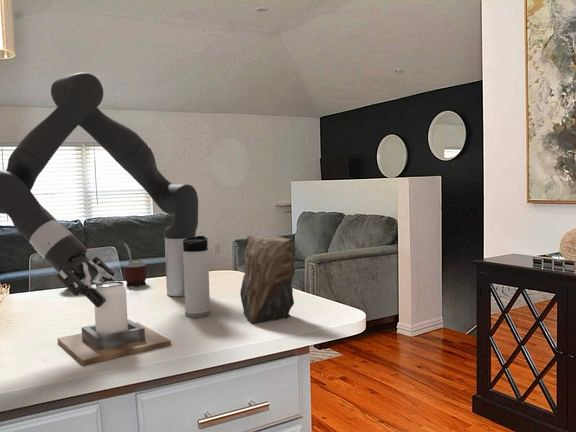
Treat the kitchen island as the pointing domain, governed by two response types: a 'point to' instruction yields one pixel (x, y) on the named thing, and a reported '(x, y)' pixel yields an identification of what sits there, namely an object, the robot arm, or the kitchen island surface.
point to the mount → (111, 343)
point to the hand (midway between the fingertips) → (111, 299)
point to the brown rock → (267, 279)
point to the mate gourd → (135, 271)
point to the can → (111, 308)
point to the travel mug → (196, 277)
